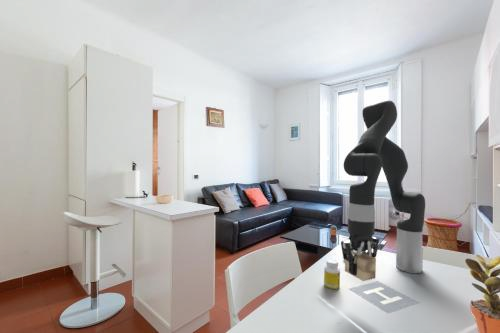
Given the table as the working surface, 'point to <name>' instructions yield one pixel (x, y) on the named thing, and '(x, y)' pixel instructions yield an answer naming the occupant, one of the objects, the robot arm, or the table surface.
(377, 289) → the letter board
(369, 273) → the oak block
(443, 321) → the table surface
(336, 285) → the supplement bottle
